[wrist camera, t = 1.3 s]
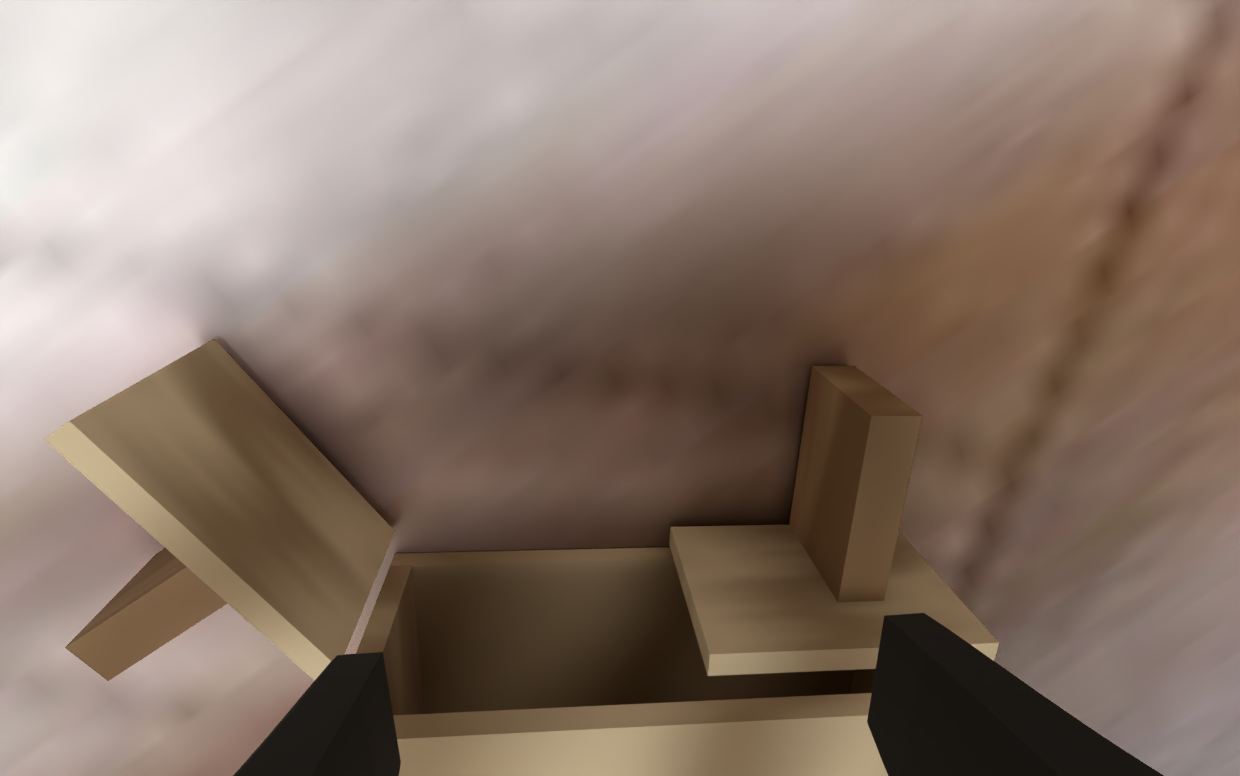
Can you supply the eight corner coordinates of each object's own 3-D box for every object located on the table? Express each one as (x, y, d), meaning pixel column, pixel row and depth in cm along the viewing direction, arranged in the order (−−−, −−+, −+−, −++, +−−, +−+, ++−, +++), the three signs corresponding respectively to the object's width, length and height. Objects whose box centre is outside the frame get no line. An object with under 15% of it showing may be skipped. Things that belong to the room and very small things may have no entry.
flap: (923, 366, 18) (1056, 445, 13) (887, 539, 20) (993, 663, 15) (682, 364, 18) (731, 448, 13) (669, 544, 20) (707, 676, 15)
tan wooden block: (46, 458, 17) (-159, 584, 12) (214, 338, 16) (69, 420, 11) (241, 629, 19) (135, 793, 14) (394, 531, 19) (338, 667, 14)
